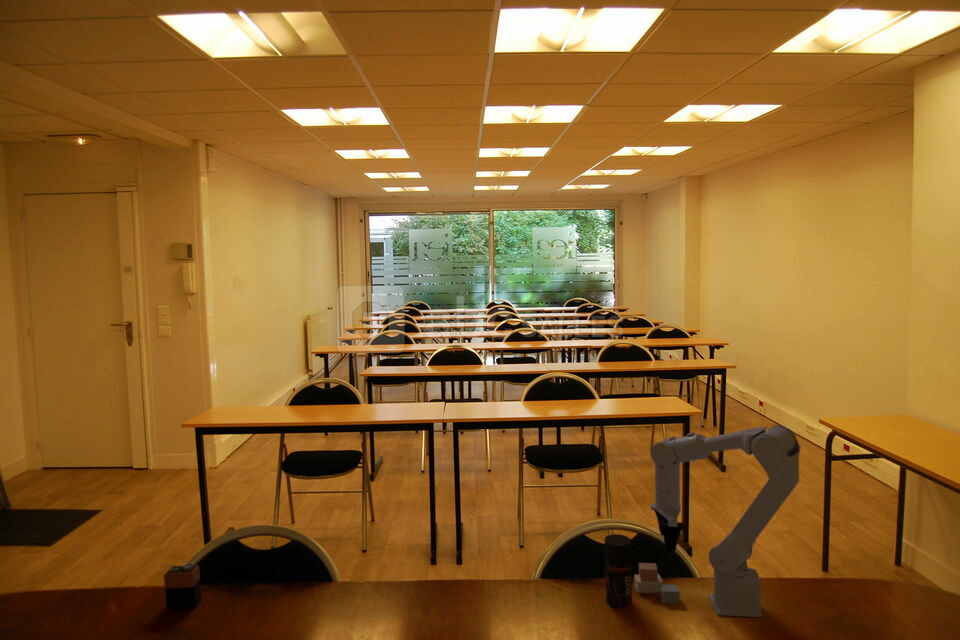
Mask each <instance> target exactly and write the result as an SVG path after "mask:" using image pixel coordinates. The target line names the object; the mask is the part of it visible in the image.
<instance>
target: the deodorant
mask: <svg viewBox="0 0 960 640" xmlns="http://www.w3.org/2000/svg"><path fill="white" fill-rule="evenodd" d="M631 542H632V541H631V538H630V537H628V536H627V535H624V534H621V533H615V534H614V533H612V534H608V535H605V537H604V565H605V566H604V568H605V571H604V572H605V602H606V604H607V605H608V606H609V607H611V608H613V609H617V610H626V609H628V608H630V607H632V605H633V594H632V593H633V592H632V591H633V587H632V586H633V585H632V583H633V582H632V581H633V580H632V543H631Z"/></svg>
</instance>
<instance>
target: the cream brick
mask: <svg viewBox="0 0 960 640" xmlns="http://www.w3.org/2000/svg"><path fill="white" fill-rule="evenodd" d="M633 576H634V577H633V578H634V579H633V580H634V584H633V586H634V588H635V590H636V592H637V594H653V593H654V594H655V593H656V594H658V593H659V594H660V586H659V584H664V581H663V579H662V577H661V576H660V574H659V573H658V582H651V581H640V577H639V574H634V575H633Z"/></svg>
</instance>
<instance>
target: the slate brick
mask: <svg viewBox="0 0 960 640" xmlns="http://www.w3.org/2000/svg"><path fill="white" fill-rule="evenodd" d="M659 586H660V593H659V599H660V601H661V604H674V605H675V604H676V605H678V604H679V605H680V604H681V603H680V602H681V601H680V599H681V598H680V596H681V595H680V589H679V587H678V584H664V583H663V584H659Z"/></svg>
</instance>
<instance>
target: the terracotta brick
mask: <svg viewBox="0 0 960 640" xmlns="http://www.w3.org/2000/svg"><path fill="white" fill-rule="evenodd" d="M658 570H659V569H658V566H657V564H656V563H653V562H652V563H651V562H650V563H649V562H638V575H639V577H640V581H651V582H658V574H659V572H658Z"/></svg>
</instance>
